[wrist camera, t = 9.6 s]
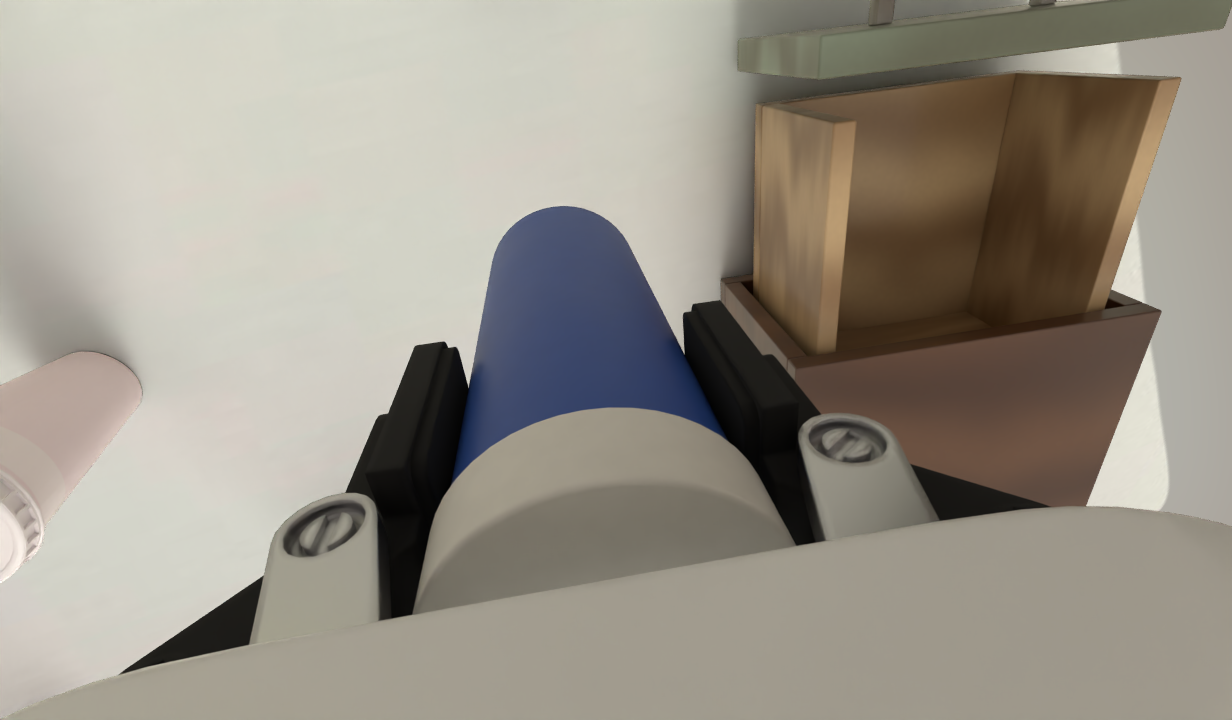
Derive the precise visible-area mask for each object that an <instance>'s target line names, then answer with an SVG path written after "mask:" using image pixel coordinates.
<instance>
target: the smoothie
mask: <svg viewBox="0 0 1232 720" xmlns="http://www.w3.org/2000/svg"><path fill="white" fill-rule="evenodd" d="M141 399H142V388H141V385H140V382H139V380H138V379H137V377H136V376H135V375H134V373H133V372H132V371H131V370H130V369H129V368H128V367H126V366H125V365H124V364H122V363H121V362H119V361H118V360H116V359H114V358H112V357H109V356H107V355H104V354H100V353H95V352H75V353H71V354H68V355H66V356H63V357H61V358H59V359H57V360H55V361H53V362H50V363H48V364H46V365H44V366H42V367H39V368H37V369H35V370H33V371H31V372H28V373H26V374H24V375H22V376H20V377H17V378H15V379H13V380H11V381H9V382H7V383H4V384H2V385H0V583H1V582H3V581H5V580H6V579H8V578H9V577H10V576H12V575H13V574H14V573H15V572H16V571H17V570H18V569H19V568H20V567H21V566H22V565H23V564H24V563H26V562H27V561H29V560H30V559H32V558H33V557H34V556H35V554H36V553H37V551H38V550H39V548H40V547H41V545H42V544H43V540H44V533H45V526H46V525H47V524H48V522H49V521H50V520H51V519H52V517H53V516H54V515H55V514H56V512H57V511H58V510H59V509H60V507H61V506H62V504H63V503H64V502H65V500H66V499H67V498H68V496H69V495H70V494H71V492H72V491H73V490H74V489H75V487H76V486H77V485H78V483H79V482H80V481H81V480H82V478H83V477H84V476H85V474H86V473H87V472H88V470H89V469H90V468H91V467H92V465H93V464H94V463H95V461H96V460H97V459H98V458H99V456H100V455H101V454H102V452H103V451H104V450H105V448H106V447H107V446H108V445H109V443H110V442H111V441H112V439H113V438H114V437H115V436H116V434H117V433H118V432H119V430H120V429H121V428H122V426H123V425H124V424H125V423H126V421H127V420H128V419H129V417H130V416H131V415H132V414H133V412H134V411H135V410H136V408H137V407H138V406H139V404H140V402H141Z"/></svg>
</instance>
